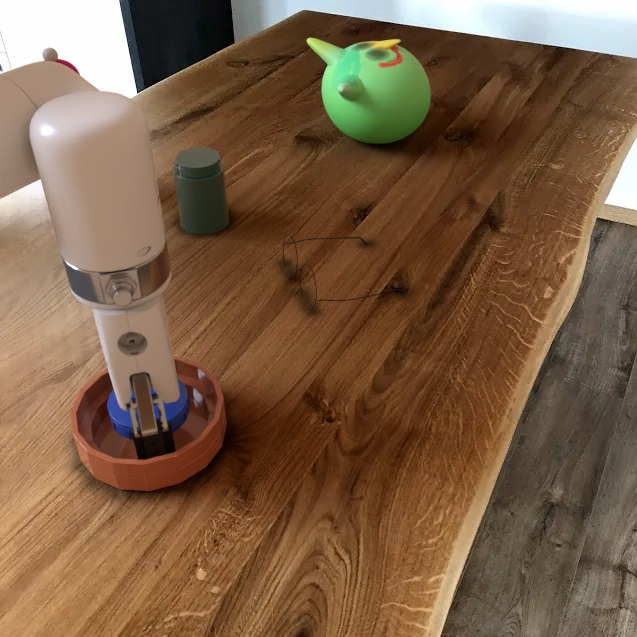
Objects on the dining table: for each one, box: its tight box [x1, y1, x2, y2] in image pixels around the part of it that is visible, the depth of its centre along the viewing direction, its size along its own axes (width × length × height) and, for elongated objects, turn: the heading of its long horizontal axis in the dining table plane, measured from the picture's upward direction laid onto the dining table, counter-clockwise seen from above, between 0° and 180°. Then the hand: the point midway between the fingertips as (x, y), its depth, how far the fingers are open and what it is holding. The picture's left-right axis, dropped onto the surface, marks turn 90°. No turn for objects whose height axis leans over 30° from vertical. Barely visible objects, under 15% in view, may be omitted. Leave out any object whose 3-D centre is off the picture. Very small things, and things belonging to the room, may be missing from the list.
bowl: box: [69, 355, 228, 492], centre depth 65 cm, size 13×13×4 cm
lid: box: [107, 378, 190, 440], centre depth 64 cm, size 7×7×2 cm
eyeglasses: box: [281, 234, 405, 310], centre depth 83 cm, size 11×13×5 cm
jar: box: [172, 146, 230, 235], centre depth 91 cm, size 6×6×9 cm
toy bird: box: [306, 37, 432, 145], centre depth 109 cm, size 18×17×15 cm
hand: (152, 425), depth 66 cm, fingers closed on lid, 6 cm apart
